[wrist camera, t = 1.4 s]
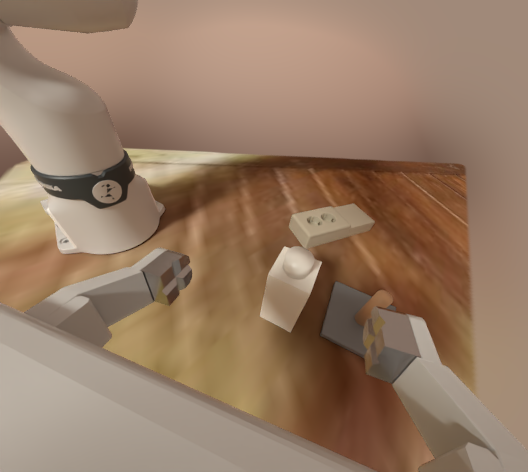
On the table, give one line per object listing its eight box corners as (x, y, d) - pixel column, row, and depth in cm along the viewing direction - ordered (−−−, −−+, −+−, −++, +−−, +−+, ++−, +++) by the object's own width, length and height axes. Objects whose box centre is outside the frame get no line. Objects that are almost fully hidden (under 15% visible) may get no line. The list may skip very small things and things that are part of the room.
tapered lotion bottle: (259, 316, 31) (270, 263, 22) (273, 290, 34) (287, 235, 25) (290, 332, 29) (315, 284, 20) (301, 304, 33) (327, 251, 24)
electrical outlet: (377, 218, 45) (309, 236, 39) (368, 231, 48) (304, 250, 42) (355, 200, 50) (291, 213, 43) (348, 213, 52) (288, 227, 46)
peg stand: (319, 335, 30) (339, 311, 24) (334, 283, 36) (351, 255, 31) (392, 372, 27) (432, 355, 22) (393, 309, 34) (423, 284, 28)
